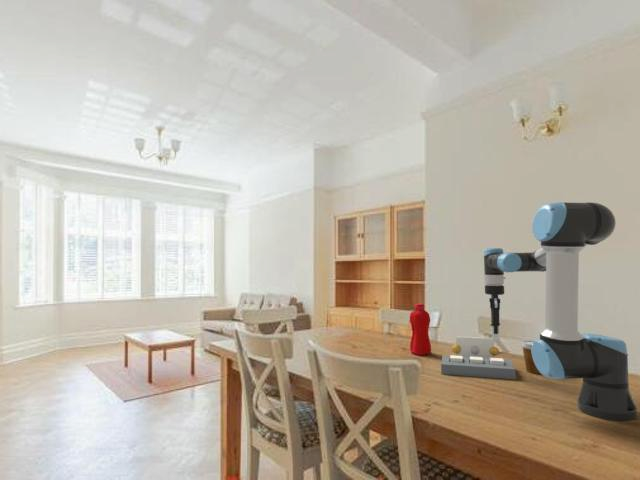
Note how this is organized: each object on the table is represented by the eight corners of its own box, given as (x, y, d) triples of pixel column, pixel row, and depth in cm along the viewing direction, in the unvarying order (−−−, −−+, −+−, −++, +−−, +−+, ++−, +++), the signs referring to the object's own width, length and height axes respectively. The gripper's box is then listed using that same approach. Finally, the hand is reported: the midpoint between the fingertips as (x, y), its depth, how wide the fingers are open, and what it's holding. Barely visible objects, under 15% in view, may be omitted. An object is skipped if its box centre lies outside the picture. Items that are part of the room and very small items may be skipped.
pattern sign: (499, 365, 180) (498, 339, 180) (452, 361, 186) (451, 336, 187) (498, 361, 186) (497, 336, 186) (452, 358, 192) (451, 334, 193)
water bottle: (404, 352, 206) (403, 303, 207) (423, 350, 210) (422, 302, 211) (414, 356, 197) (413, 305, 199) (433, 354, 201) (432, 304, 202)
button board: (515, 379, 158) (515, 369, 159) (441, 373, 167) (441, 364, 168) (510, 368, 174) (510, 359, 174) (442, 364, 183) (442, 355, 183)
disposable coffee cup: (552, 375, 164) (551, 345, 165) (529, 375, 164) (527, 345, 165) (540, 368, 173) (539, 340, 174) (518, 368, 174) (517, 340, 174)
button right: (504, 368, 165) (504, 361, 165) (491, 367, 167) (490, 360, 167) (503, 365, 170) (502, 358, 170) (490, 364, 171) (489, 357, 171)
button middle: (483, 367, 167) (483, 360, 168) (470, 366, 169) (470, 359, 169) (482, 364, 172) (482, 357, 172) (470, 363, 174) (469, 356, 174)
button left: (462, 365, 170) (462, 358, 170) (450, 365, 172) (450, 357, 172) (462, 362, 175) (462, 355, 175) (450, 362, 176) (450, 355, 177)
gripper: (505, 286, 162) (507, 345, 162) (502, 283, 175) (503, 338, 174) (485, 285, 165) (487, 344, 164) (483, 283, 177) (485, 337, 176)
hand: (495, 341), depth 169 cm, fingers closed
